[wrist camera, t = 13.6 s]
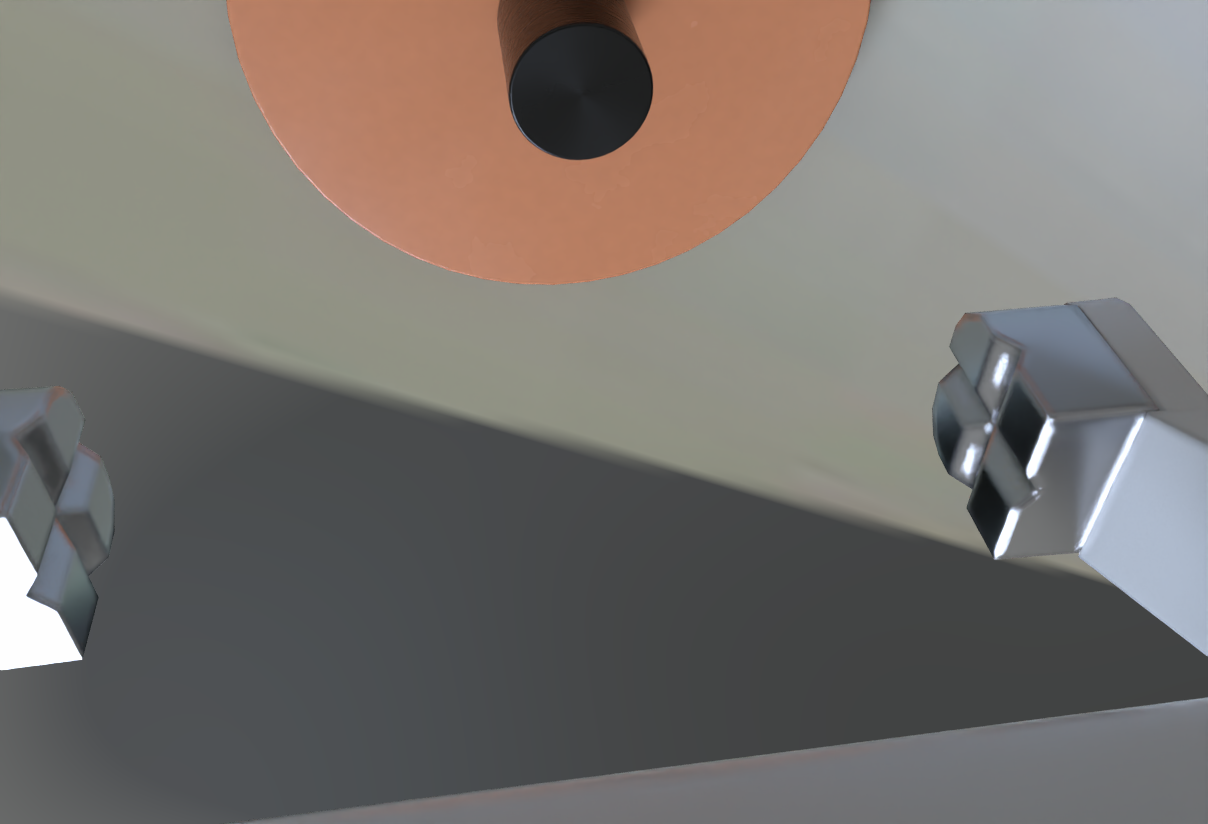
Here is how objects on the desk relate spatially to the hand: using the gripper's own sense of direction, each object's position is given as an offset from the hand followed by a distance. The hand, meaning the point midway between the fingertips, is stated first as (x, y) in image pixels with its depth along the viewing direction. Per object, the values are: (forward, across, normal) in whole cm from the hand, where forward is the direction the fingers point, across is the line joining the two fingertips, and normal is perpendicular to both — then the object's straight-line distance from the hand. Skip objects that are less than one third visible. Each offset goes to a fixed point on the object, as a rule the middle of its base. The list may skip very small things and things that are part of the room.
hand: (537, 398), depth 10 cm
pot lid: (+14, -2, +2) cm, 15 cm away
